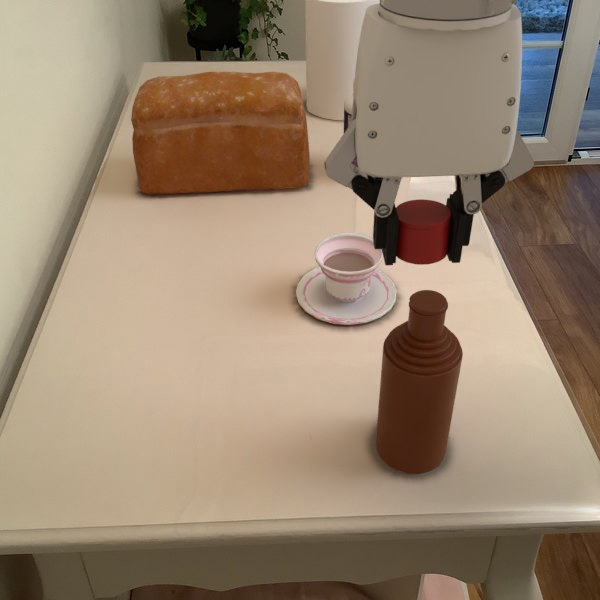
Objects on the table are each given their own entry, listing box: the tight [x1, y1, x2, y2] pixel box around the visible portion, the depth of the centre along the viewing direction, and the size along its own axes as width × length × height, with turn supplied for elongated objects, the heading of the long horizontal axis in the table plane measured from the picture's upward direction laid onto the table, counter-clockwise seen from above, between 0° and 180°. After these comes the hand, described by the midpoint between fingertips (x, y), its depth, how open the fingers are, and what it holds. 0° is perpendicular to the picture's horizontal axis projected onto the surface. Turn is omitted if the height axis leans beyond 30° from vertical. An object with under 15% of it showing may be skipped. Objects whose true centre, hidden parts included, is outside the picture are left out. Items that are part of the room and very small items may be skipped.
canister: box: [304, 0, 380, 121], centre depth 121 cm, size 14×14×20 cm
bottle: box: [375, 289, 464, 475], centre depth 57 cm, size 6×6×17 cm
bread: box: [130, 71, 310, 195], centre depth 101 cm, size 14×26×16 cm, turn 93°
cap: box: [395, 198, 451, 266], centre depth 48 cm, size 4×4×3 cm
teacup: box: [295, 231, 397, 326], centre depth 78 cm, size 12×12×6 cm
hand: (419, 251), depth 49 cm, fingers closed on cap, 4 cm apart
